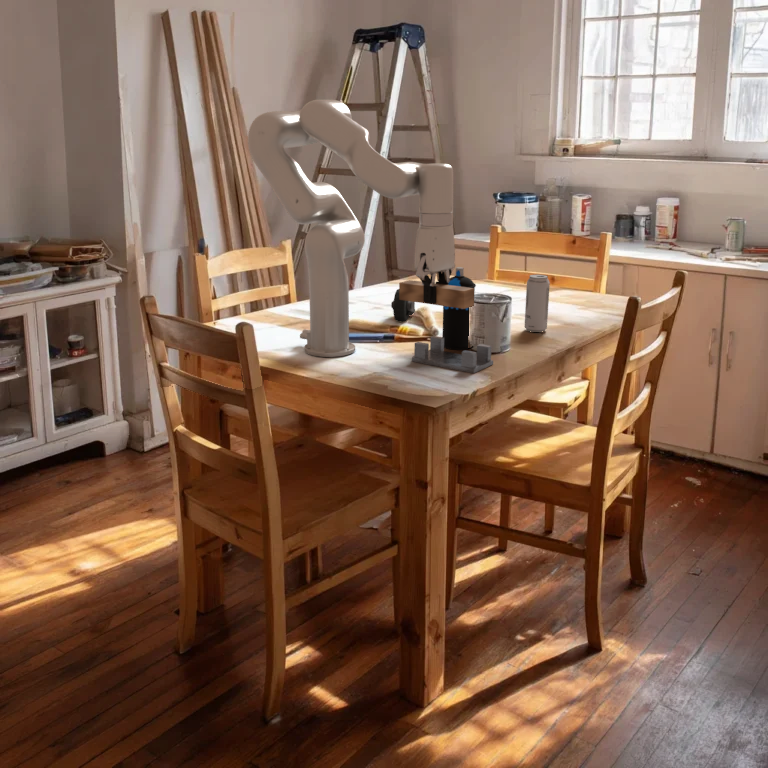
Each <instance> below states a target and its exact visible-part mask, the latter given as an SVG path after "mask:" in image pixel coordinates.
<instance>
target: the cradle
mask: <svg viewBox="0 0 768 768" xmlns="http://www.w3.org/2000/svg"><path fill="white" fill-rule="evenodd" d="M429 342H430V346H429V343H426V342H421V341H417V342H414V355H413V356H412V357H411V362H415V363H420V364H424V365H431V366H434V367H440V368H444V369H450V370H455V371H460V372H461V371H462V372H465V373H470V374H475V373H478V372H480V371H483V370H485V369H486V368H489V367H490V366H493V365H494V360H493V359H492V345H489V344H482V343H479V344H477V345H476V351H471V350H467V349H466V350H461V354H460V353H455V352H449V351H445V348H444V338H443V337H442V336H437V335H432V336H430V341H429ZM429 347H430V349H429Z"/></svg>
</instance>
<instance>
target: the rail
mask: <svg viewBox="0 0 768 768" xmlns="http://www.w3.org/2000/svg"><path fill="white" fill-rule="evenodd" d="M434 286H436V303H435V304H431V303H425V302H424V286H423V285H422V281H421V280H420V281H418V280H412V279H408V280H405V281H404V280H403V281H401V282H399V285H398V289H399V300H405V301H412V302H415V303H419V304H427V305H432V306H433V305H435V306H441V307H443V306H447V307H454V308H461V309H465V308H469V307H472V306H474V307H475V293H474V288H468V287H460V286H452V285H444V284H436V282H435V285H434Z"/></svg>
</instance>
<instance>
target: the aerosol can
mask: <svg viewBox="0 0 768 768" xmlns="http://www.w3.org/2000/svg"><path fill="white" fill-rule="evenodd" d="M464 273H465V271H464V267H461V266H457V267H456V266H455V275H454V276H450V281H449V282H447V283H448V285H452V286H460V287H468V288H474V294H475V293H476V291H475V290H476V286H477V285H476V283H474V281H473V280H472V279H471V278H469V277H466V276H465V275H464ZM468 336H469V308H465V309H461V308H454V307H447V306H442V336H441V337H443V338H444V349H448V350H453V351H465V350H466V351H467V350H469V349H468Z"/></svg>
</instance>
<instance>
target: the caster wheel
mask: <svg viewBox="0 0 768 768" xmlns="http://www.w3.org/2000/svg"><path fill="white" fill-rule="evenodd" d="M415 305H416V302H412V301H405V300H399V288H398V289H396V291H395V292H394V298H393V300H392V301H391V309H392V310H393V319H394V320H395V321H396V322H404V323H405V322H407V321H408V319H409V318H410V317H409V315H412V314H413V313H414V314H415V311H416V308H415Z"/></svg>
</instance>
